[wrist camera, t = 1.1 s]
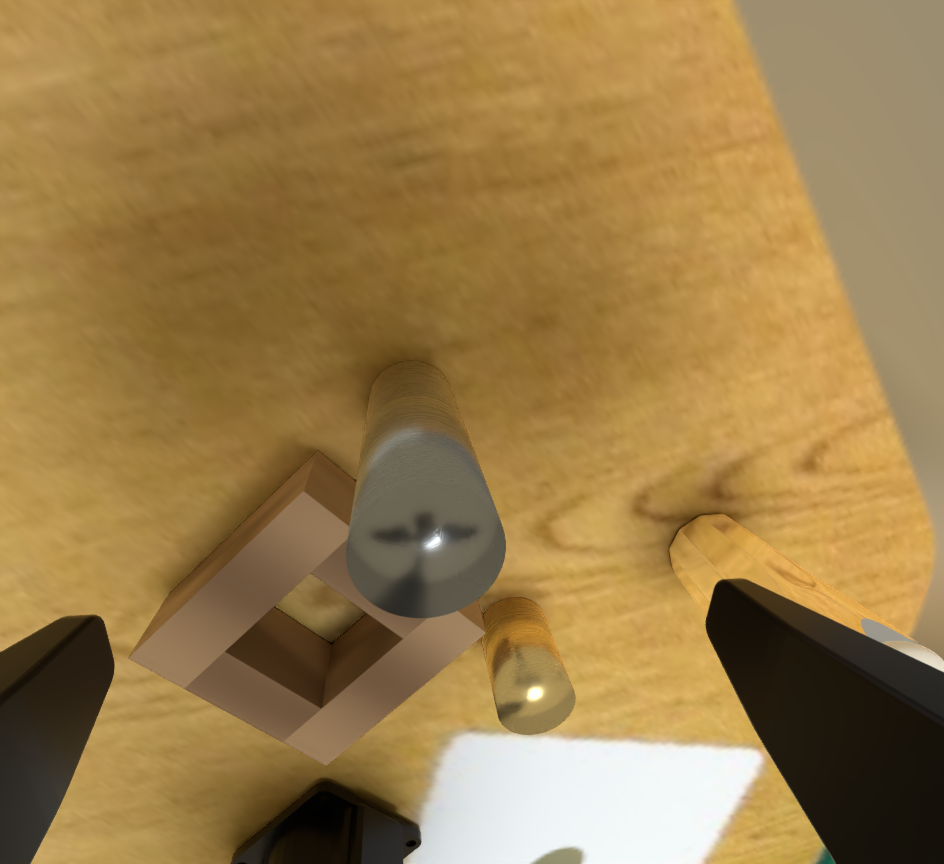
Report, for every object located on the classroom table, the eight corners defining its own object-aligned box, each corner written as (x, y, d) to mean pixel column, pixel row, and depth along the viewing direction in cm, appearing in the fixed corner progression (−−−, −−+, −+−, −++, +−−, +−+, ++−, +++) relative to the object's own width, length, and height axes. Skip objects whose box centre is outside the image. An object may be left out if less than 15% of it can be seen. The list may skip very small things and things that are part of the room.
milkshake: (642, 502, 20) (855, 730, 11) (765, 494, 21) (1062, 701, 12) (628, 596, 22) (803, 863, 12) (742, 585, 22) (987, 830, 13)
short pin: (508, 660, 22) (531, 746, 18) (465, 627, 21) (481, 710, 17) (556, 621, 22) (590, 700, 18) (515, 585, 21) (542, 661, 17)
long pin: (411, 454, 18) (426, 643, 10) (351, 401, 17) (310, 559, 9) (469, 401, 17) (536, 548, 9) (411, 342, 16) (429, 449, 8)
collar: (335, 697, 21) (326, 765, 18) (168, 595, 18) (127, 658, 16) (473, 578, 20) (485, 633, 17) (318, 450, 17) (303, 491, 14)
